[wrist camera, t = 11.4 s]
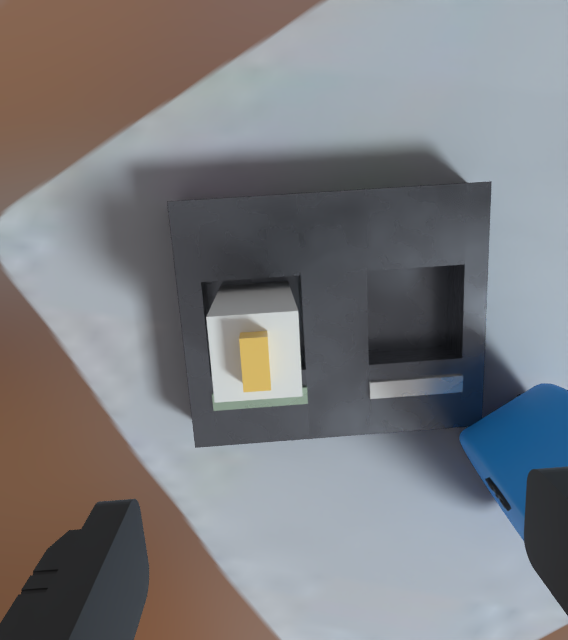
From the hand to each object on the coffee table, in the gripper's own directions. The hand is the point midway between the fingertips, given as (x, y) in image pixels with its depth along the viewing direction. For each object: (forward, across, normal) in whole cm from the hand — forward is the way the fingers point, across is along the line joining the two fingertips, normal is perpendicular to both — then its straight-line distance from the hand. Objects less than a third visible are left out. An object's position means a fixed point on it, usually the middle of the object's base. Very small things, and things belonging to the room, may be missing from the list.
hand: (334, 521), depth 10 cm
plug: (+20, +2, 0) cm, 20 cm away
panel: (+21, -2, 0) cm, 21 cm away
